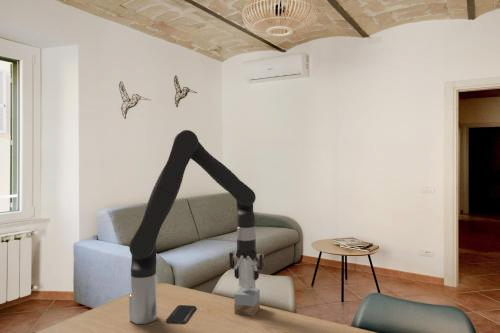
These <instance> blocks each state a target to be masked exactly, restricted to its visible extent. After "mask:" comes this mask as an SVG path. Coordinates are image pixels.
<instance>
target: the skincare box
mask: <svg viewBox="0 0 500 333" xmlns="http://www.w3.org/2000/svg"><path fill="white" fill-rule="evenodd" d="M251 259H252V258H251ZM238 260H239V259H238V258H237V261H238ZM255 260H256V259H255ZM255 260H253V262H254V263H255ZM254 271H255V269H254V268H253V266H252V265H251V260H250V259H247V258H243V259H242V261H241V263H240V265H239V266H238V277H239V278H238V286H239V288H241V287H242V288H244V289H246V290H251V289H256V287H257V286H256V280H254Z"/></svg>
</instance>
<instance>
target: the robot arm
mask: <svg viewBox="0 0 500 333" xmlns="http://www.w3.org/2000/svg"><path fill="white" fill-rule="evenodd" d="M190 160H191V161H193V162H195V164H197V165H199V166H200V168H202V170H204V171H205V172H206V173H207V174H208V175H209V176H210V177H211V178H212V179H213V180H214V182H216V183H217V184H218V185H219V186H220V187H221V188H223V189H224V190H225V191H227V192H228V193H229V194H230V196H232V197H233V198H234V199H235V200H236V211H237V216H236V219H237V221H236V222H237V228H236V251H235V252H234V251H231V252H229V253H228V256H229V267H230V268H232V269H233V270H234V272H233V273H234V274H233V275H234V278H235V279H237V280H239V277H238V266H239V265H240V263H241V261H242V259H243V258H247V259H250V260H251V265H252V266H253V268H254V269H255V271H254V280H255V281H258V279H259V278H260V271H262V270H263V269H264V266H265V264H264V263H265V262H264V261H265V259H264V258H265V253H263V252H261V253H257V244H256V243H257V241H256V239H257V232H256V218H255V217H256V216H255V212H254V204H255V202H256V194H255V191H254V190H253V189H251V187H250V186H248V185H247V184H245V183H244V182H243V181H241V179H239V177H238V176H237V175H236V174H235V173H234V172H233V171H232V170H230V169H229V168H228V167H227V166H226V165H224V163H222V162H221V161H219V159H217V158H215V157H214V156H213V155H212V154H211V153H210V152H208V151H207V149H206V148H205V147H204V146H203V145H202V144H201V142H200V141H199V138H198V136H197V135H196V133H195V132H193V130H191V129H190V130H189V129H182V130H180V131H179V132H178V133H177V134H176V135H175V137H174V138H173V143H172V146H171V150H170V153H169V156H168V158H167V161H166V163H165V165H164V166H163V168H162V170H161V173H160V174H159V176H158V178H157V180H156V181H155V183H154V186H153V188H152V191H151V193H150V195H149V199H148V202H147V205H146V207H145V210H144V214H143V218H142V219H141V222H140V224H139V226H138V229H137V230H136V232H135V233H134V235H133V237H132V238H131V240H130V242H129V246H128V247H129V252H130V255H131V266H130V288H131V289H130V290H131V291H130V292H131V293H130V295H129V297H128V303H129V304H128V309H129V310H128V312H129V314H128V315H129V318H128V319H129V322H132V323H134V324H137V325H145V324H150V323H152V322H154V321H156V320H157V319H158V310H157V308H158V307H157V306H158V305H157V303H158V300H157V298H158V297H157V296H158V295H157V239H158V237H159V234H160V230H161V229H162V226H163V224H164V222H165V221H166V219H167V217H168V216H169V213H170V212H171V209H172V208H173V206H174V204H175V202H176V199H177V197H178V194H179V191H180V189H181V186H182V182H183V179H184V174H185V172H186V169H187V166H188V164H189V162H190ZM235 257H237V262H236V263H235ZM251 258H252V259H251ZM256 258H257V260H259V262H257V261H256ZM238 259H239V260H238ZM253 260H255V263H254V262H253ZM258 263H259V265H258Z"/></svg>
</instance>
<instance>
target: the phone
mask: <svg viewBox="0 0 500 333" xmlns="http://www.w3.org/2000/svg"><path fill="white" fill-rule="evenodd" d="M196 309H197V306H196V305H186V304H184V305H183V304H180V305H177V306H176V308H174V310H173V311H172V312H171V313H170V314H169V315H168V317H167V318H166V319H165V323H166V324H174V323H175V324H180V325H184V324H186V323H187V322H188V320H189V319H190V317H191V316H192V315H193V314H194V313H195V312H196Z"/></svg>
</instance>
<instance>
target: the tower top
mask: <svg viewBox="0 0 500 333" xmlns="http://www.w3.org/2000/svg"><path fill="white" fill-rule="evenodd" d="M260 293H261V292H260V288H254V289H251V290H246V289H244V288H242V287H239V288H238V290H237V291H235V293H234V304H236V305H246V306H255V305H256V303H257V302H258V300H259V301H260V299H261V298H260Z"/></svg>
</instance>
